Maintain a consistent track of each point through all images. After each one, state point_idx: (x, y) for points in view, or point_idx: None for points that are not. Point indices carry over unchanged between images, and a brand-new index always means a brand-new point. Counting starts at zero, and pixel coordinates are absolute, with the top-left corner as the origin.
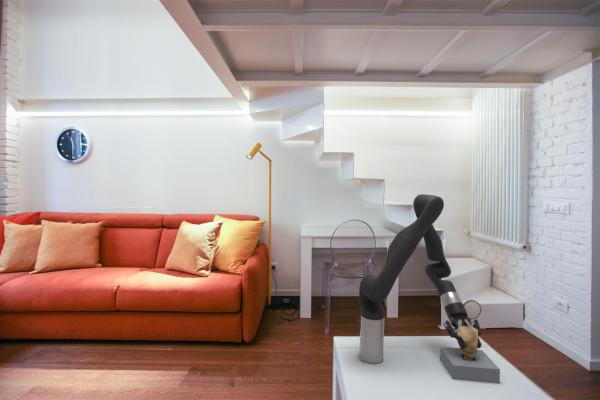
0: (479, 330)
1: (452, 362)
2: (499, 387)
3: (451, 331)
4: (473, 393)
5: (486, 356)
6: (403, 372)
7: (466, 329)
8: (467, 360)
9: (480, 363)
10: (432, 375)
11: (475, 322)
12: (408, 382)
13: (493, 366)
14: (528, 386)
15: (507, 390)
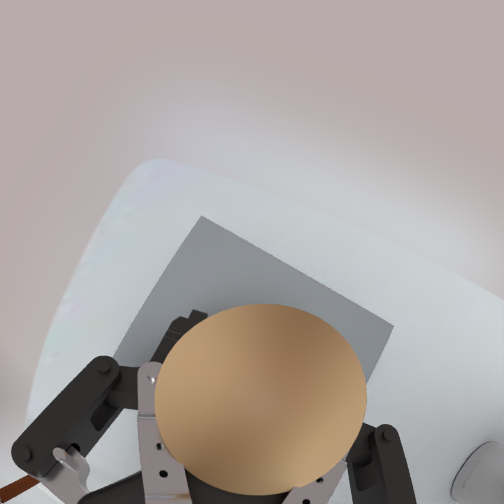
0: (88, 383)
1: (377, 348)
2: (237, 221)
3: (403, 456)
4: (362, 234)
5: (139, 327)
6: (467, 397)
7: (310, 414)
8: None
9: (243, 291)
10: (412, 367)
11: (49, 452)
12: (483, 346)
13: (206, 244)
14: (133, 190)
15: (227, 199)
